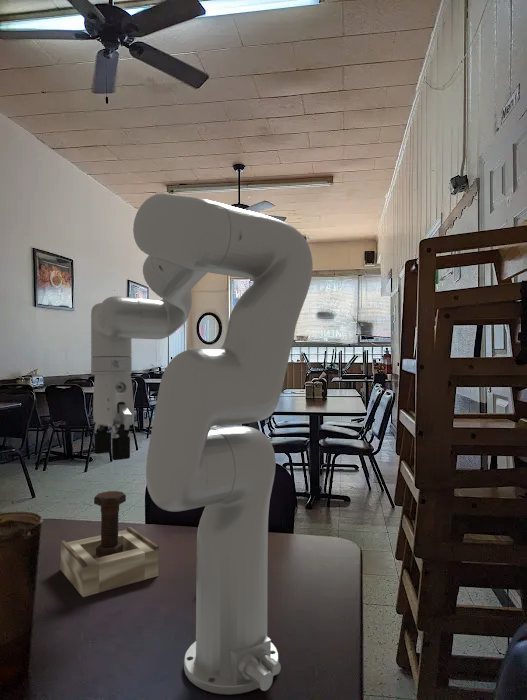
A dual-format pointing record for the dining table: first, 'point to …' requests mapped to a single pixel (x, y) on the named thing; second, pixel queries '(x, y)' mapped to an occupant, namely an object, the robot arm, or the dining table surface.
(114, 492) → the bolt
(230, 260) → the robot arm
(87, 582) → the socket
